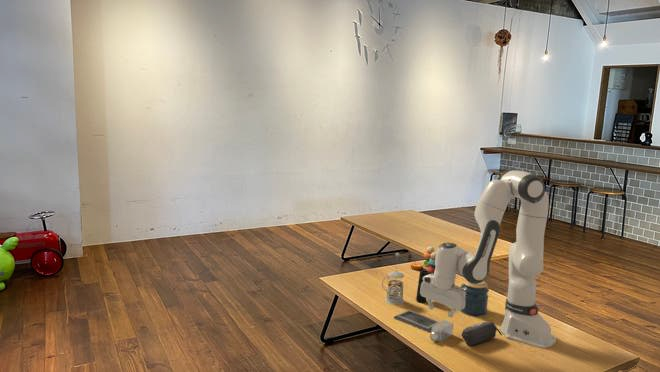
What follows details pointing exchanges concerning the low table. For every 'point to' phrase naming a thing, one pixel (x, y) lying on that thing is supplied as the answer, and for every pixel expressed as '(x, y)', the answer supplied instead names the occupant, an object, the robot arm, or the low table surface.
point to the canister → (475, 298)
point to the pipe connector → (422, 274)
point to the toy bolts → (427, 261)
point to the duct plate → (416, 320)
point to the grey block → (441, 331)
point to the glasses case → (479, 333)
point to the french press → (393, 297)
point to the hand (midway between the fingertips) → (440, 312)
